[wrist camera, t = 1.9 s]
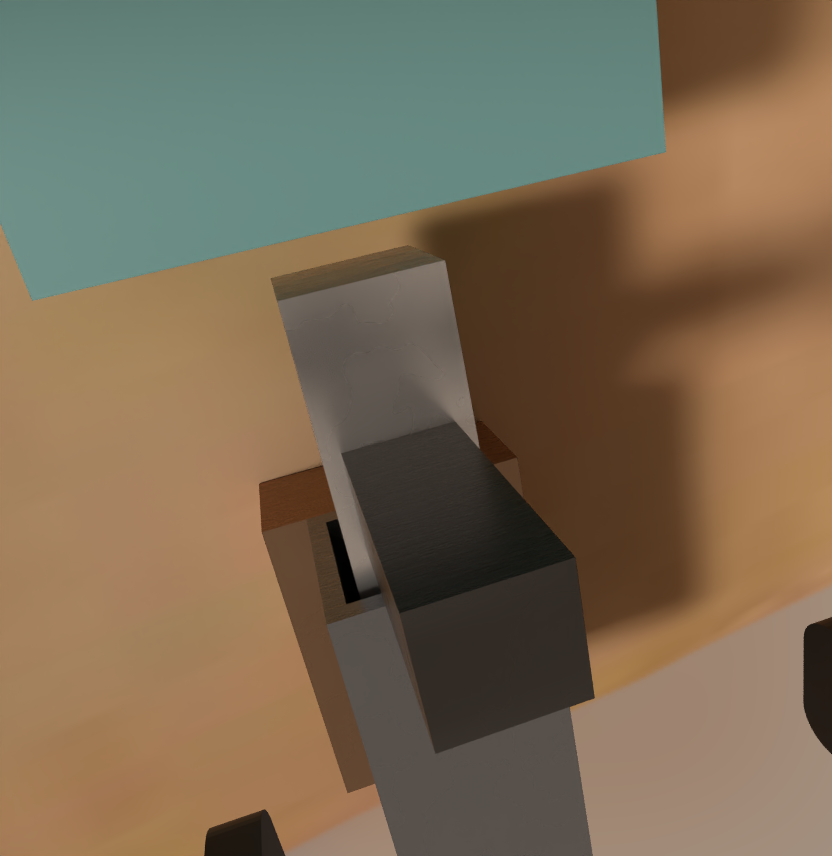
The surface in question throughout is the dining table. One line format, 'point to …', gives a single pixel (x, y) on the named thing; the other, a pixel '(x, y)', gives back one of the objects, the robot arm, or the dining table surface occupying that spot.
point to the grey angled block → (432, 499)
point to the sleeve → (413, 702)
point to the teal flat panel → (296, 118)
